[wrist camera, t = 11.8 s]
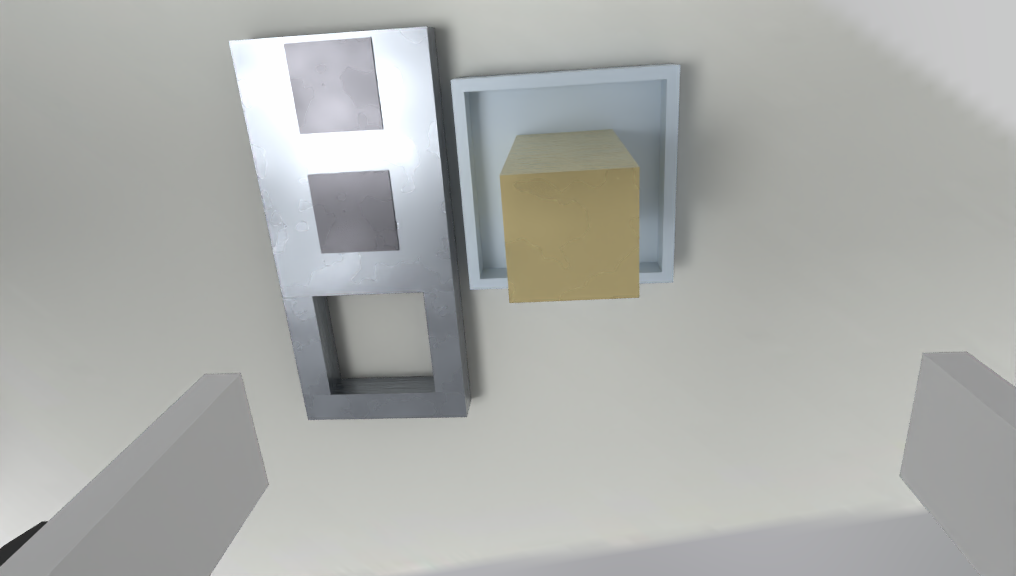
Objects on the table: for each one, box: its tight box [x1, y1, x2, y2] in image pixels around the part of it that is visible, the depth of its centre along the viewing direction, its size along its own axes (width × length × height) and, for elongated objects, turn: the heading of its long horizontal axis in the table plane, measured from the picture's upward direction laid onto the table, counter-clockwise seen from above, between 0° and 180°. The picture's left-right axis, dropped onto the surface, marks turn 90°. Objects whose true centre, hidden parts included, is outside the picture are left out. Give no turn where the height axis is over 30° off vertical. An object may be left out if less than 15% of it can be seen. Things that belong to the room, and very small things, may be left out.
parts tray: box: [451, 64, 680, 290], centre depth 33 cm, size 11×11×2 cm
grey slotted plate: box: [229, 26, 471, 420], centre depth 35 cm, size 10×22×2 cm, turn 4°
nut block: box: [500, 129, 640, 303], centre depth 28 cm, size 5×5×11 cm
